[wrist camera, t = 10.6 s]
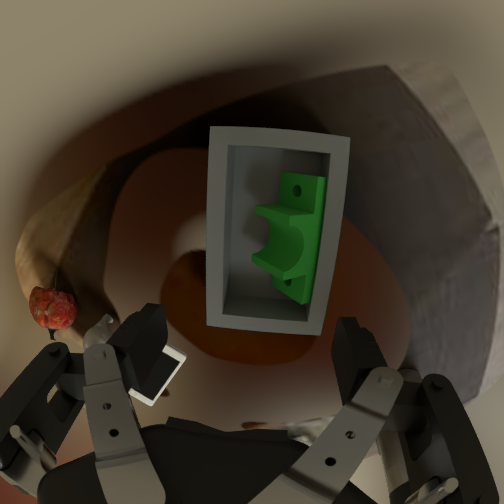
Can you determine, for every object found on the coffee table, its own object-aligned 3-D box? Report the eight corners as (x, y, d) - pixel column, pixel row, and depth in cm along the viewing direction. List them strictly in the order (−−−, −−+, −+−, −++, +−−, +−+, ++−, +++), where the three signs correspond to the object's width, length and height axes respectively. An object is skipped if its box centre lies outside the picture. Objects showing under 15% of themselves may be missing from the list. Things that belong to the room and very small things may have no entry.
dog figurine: (97, 361, 37) (65, 403, 27) (104, 304, 33) (59, 350, 23) (124, 377, 37) (96, 423, 27) (137, 323, 33) (97, 376, 23)
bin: (314, 309, 30) (320, 335, 25) (217, 300, 30) (207, 325, 26) (336, 141, 24) (350, 137, 19) (222, 131, 24) (210, 126, 20)
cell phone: (113, 380, 39) (112, 383, 38) (138, 323, 33) (136, 326, 33) (152, 404, 39) (151, 407, 39) (188, 354, 34) (187, 357, 34)
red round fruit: (53, 273, 35) (45, 335, 32) (26, 260, 28) (16, 331, 25) (88, 278, 35) (81, 344, 32) (63, 265, 28) (53, 343, 25)
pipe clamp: (256, 170, 22) (293, 174, 19) (289, 171, 24) (327, 176, 21) (249, 291, 26) (280, 313, 22) (279, 283, 28) (311, 302, 24)
